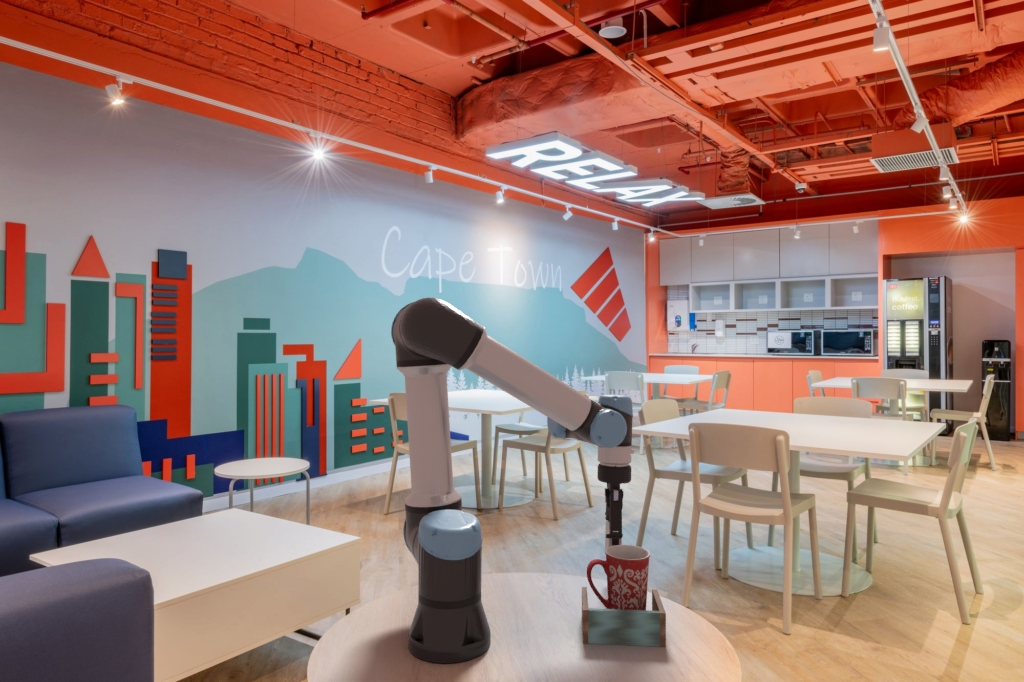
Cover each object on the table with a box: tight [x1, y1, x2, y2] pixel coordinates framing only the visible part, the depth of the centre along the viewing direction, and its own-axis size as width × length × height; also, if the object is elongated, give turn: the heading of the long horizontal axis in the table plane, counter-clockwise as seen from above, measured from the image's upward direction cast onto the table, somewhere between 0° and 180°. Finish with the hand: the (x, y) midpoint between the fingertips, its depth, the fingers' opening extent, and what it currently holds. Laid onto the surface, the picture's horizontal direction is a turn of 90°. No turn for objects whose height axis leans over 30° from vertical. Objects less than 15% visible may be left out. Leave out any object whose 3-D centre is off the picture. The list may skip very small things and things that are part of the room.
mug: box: [586, 544, 651, 610], centre depth 129 cm, size 13×9×14 cm
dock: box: [581, 586, 667, 648], centre depth 123 cm, size 15×12×6 cm
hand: (612, 558), depth 144 cm, fingers open, 13 cm apart
